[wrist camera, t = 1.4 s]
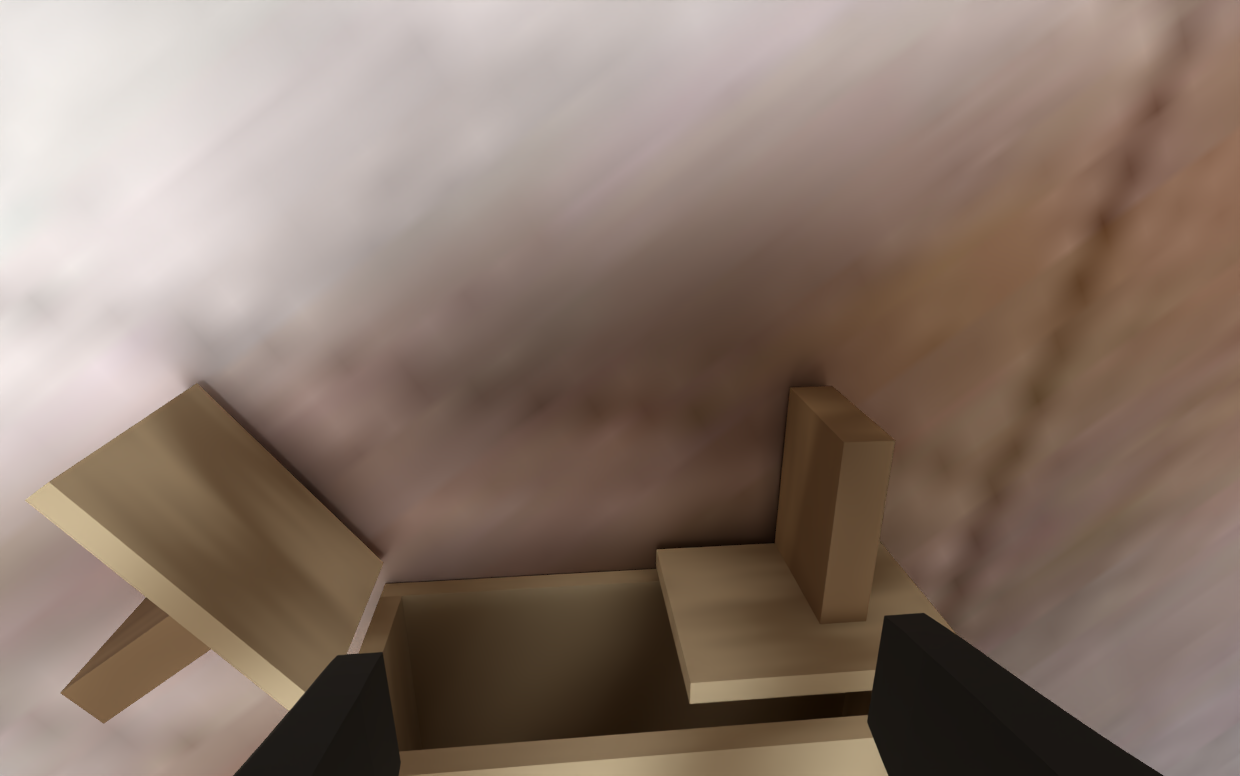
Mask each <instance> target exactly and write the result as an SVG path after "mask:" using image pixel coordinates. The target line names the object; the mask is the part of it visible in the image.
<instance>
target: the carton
mask: <svg viewBox="0 0 1240 776" xmlns="http://www.w3.org/2000/svg"><path fill="white" fill-rule="evenodd" d="M375 652H383V657H384V663H385V669H386V675H387V681H388V687H389V693H390V699H391V705H392V711H393V718H394V724H395V730H396V736H397V742H398V748H399V754H400V760H401V765H400V771H399V776H888V774H887V771H886V769H885V767H884V764H883V762H882V759H881V757H880V754H879V752H878V749H877V746H876V744H875V741H874V739H873V736H872V734H871V731H870V728H869V726H868V723H867V719H868V713H869V707H870V700H871V694H872V690H870V691H857V692H844V693H830V694H817V695H803V696H790V697H777V698H763V699H750V700H736V701H723V702H709V703H696V704H690V703H689V699H688V695H687V691H686V687H685V683H684V678H683V674H682V670H681V666H680V662H679V658H678V654H677V650H676V646H675V642H674V638H673V634H672V630H671V625H670V621H669V617H668V613H667V609H666V605H665V601H664V597H663V593H662V589H661V585H660V581H659V577H658V572H657V569H645V570H627V571H609V572H591V573H573V574H555V575H537V576H519V577H501V578H483V579H465V580H447V581H429V582H411V583H393V584H385V586H384V589H383V591H382V594H381V596H380V599H379V602H378V604H377V607H376V609H375V612H374V615H373V617H372V620H371V623H370V625H369V628H368V630H367V633H366V636H365V638H364V641H363V643H362V646H361V649H360V651H359V654H361V653H375Z"/></svg>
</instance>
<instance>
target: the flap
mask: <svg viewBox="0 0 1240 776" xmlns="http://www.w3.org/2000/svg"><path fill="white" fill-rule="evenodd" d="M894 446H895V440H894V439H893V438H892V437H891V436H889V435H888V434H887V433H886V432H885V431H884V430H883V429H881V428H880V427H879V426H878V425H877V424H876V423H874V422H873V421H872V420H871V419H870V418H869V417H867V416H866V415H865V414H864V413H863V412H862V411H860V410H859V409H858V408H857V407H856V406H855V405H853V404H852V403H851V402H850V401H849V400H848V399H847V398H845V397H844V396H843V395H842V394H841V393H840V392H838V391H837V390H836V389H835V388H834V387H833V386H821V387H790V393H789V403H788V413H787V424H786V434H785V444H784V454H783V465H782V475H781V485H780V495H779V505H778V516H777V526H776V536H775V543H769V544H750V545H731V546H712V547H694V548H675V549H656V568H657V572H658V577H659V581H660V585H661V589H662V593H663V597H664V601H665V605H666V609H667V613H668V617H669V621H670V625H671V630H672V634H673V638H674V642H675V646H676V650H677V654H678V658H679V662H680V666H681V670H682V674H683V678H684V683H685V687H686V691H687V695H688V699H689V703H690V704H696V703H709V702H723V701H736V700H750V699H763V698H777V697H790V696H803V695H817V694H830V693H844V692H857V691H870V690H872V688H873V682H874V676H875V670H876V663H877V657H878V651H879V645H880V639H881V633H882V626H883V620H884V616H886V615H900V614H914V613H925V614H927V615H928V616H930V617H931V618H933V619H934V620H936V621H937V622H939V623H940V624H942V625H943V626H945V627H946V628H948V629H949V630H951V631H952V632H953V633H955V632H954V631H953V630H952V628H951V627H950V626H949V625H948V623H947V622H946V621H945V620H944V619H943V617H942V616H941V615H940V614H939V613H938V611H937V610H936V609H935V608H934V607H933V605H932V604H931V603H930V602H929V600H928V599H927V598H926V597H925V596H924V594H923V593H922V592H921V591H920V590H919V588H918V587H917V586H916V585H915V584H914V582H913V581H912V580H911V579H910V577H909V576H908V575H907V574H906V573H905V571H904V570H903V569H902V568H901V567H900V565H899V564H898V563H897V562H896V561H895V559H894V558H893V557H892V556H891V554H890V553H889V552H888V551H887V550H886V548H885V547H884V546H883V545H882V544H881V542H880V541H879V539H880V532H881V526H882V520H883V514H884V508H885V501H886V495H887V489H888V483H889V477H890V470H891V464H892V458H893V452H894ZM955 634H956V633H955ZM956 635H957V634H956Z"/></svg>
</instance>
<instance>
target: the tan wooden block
mask: <svg viewBox="0 0 1240 776" xmlns="http://www.w3.org/2000/svg"><path fill="white" fill-rule="evenodd" d="M25 501H26V502H28V503H29V504H30V505H31V506H33V507H34V508H35V509H36V510H38V511H39V512H40V513H41V514H43V515H44V516H45V517H46V518H48V519H49V520H50V521H51V522H53V523H54V524H55V525H56V526H58V527H59V528H60V529H61V530H63V531H64V532H65V533H66V534H68V535H69V536H70V537H71V538H73V539H74V540H75V541H76V542H78V543H79V544H80V545H82V546H83V547H84V548H85V549H87V550H88V551H89V552H90V553H92V554H93V555H94V556H95V557H97V558H98V559H99V560H100V561H102V562H103V563H104V564H105V565H107V566H108V567H109V568H110V569H112V570H113V571H114V572H115V573H117V574H118V575H119V576H120V577H122V578H123V579H124V580H125V581H127V582H128V583H129V584H130V585H132V586H133V587H134V588H135V589H137V590H138V591H139V592H140V593H142V594H143V595H144V596H145V597H146V598H145V599H144V600H143V602H142V603H141V604H140V605H139V606H138V607H137V608H136V609H135V610H134V612H133V613H132V614H131V615H130V616H129V617H128V618H127V619H126V620H125V622H124V623H123V624H122V625H121V626H120V627H119V628H118V629H117V630H116V632H115V633H114V634H113V635H112V636H111V637H110V638H109V639H108V640H107V642H106V643H105V644H104V645H103V646H102V647H101V648H100V649H99V650H98V652H97V653H96V654H95V655H94V656H93V657H92V658H91V659H90V660H89V662H88V663H87V664H86V665H85V666H84V667H83V668H82V669H81V670H80V672H79V673H78V674H77V675H76V676H75V677H74V678H73V679H72V680H71V682H70V683H69V684H68V685H67V686H66V687H65V688H64V689H63V690H62V692H61V694H62V695H64V696H65V697H67V698H68V699H69V700H71V701H72V702H74V703H75V704H77V705H78V706H79V707H81V708H82V709H84V710H85V711H87V712H88V713H90V714H91V715H92V716H94V717H95V718H97V719H98V720H100V721H101V722H102V723H105V722H107V721H108V720H110V719H111V718H112V717H114V716H115V715H117V714H118V713H120V712H121V711H123V710H124V709H125V708H127V707H128V706H130V705H131V704H133V703H134V702H135V701H137V700H138V699H140V698H141V697H143V696H144V695H146V694H147V693H148V692H150V691H151V690H153V689H154V688H156V687H157V686H159V685H160V684H161V683H163V682H164V681H166V680H167V679H169V678H170V677H171V676H173V675H174V674H176V673H177V672H179V671H180V670H182V669H183V668H184V667H186V666H187V665H189V664H190V663H192V662H193V661H195V660H196V659H197V658H199V657H200V656H202V655H203V654H205V653H206V652H207V651H209V650H210V649H212V650H213V651H214V652H216V653H217V654H218V655H219V656H221V657H222V658H223V659H224V660H226V661H227V662H228V663H229V664H231V665H232V666H233V667H234V668H236V669H237V670H238V671H239V672H241V673H242V674H243V675H244V676H246V677H247V678H248V679H250V680H251V681H252V682H253V683H255V684H256V685H257V686H258V687H260V688H261V689H262V690H263V691H265V692H266V693H267V694H268V695H270V696H271V697H272V698H273V699H275V700H276V701H277V702H278V703H280V704H281V705H282V706H283V707H285V708H286V709H287V710H288V711H290V710H291V708H292V707H293V706H294V705H295V704H296V702H297V701H298V700H299V699H300V698H301V696H302V695H303V694H304V693H305V692H306V691H307V689H308V688H309V687H310V686H311V685H312V683H313V682H314V681H315V680H316V679H317V677H318V676H319V675H320V674H321V673H322V671H323V670H324V669H325V668H326V667H327V666H328V664H329V663H330V662H331V661H332V660H333V659H334V658H335V657H336V656H337V655H346V654H347V652H348V649H349V647H350V644H351V642H352V639H353V637H354V634H355V632H356V629H357V627H358V624H359V622H360V620H361V617H362V615H363V612H364V610H365V607H366V605H367V602H368V600H369V597H370V595H371V592H372V590H373V588H374V585H375V583H376V580H377V578H378V575H379V573H380V570H381V568H382V565H383V562H382V561H381V560H380V559H379V558H378V557H377V556H376V555H375V554H374V553H373V552H372V551H371V550H370V549H369V548H368V547H367V546H366V545H365V544H363V543H362V542H361V541H360V540H359V539H358V538H357V537H356V536H355V535H354V534H353V533H352V532H351V531H350V530H349V529H348V528H347V527H346V526H345V525H344V524H343V523H342V522H341V521H340V520H339V519H337V518H336V517H335V516H334V515H333V514H332V513H331V512H330V511H329V510H328V509H327V508H326V507H325V506H324V505H323V504H322V503H321V502H320V501H319V500H318V499H317V498H316V497H315V496H314V495H313V494H312V493H310V492H309V491H308V490H307V489H306V488H305V487H304V486H303V485H302V484H301V483H300V482H299V481H298V480H297V479H296V478H295V477H294V476H293V475H292V474H291V473H290V472H289V471H288V470H287V469H286V468H284V467H283V466H282V465H281V464H280V463H279V462H278V461H277V460H276V459H275V458H274V457H273V456H272V455H271V454H270V453H269V452H268V451H267V450H266V449H265V448H264V447H263V446H262V445H261V444H260V443H259V442H257V441H256V440H255V439H254V438H253V437H252V436H251V435H250V434H249V433H248V432H247V431H246V430H245V429H244V428H243V427H242V426H241V425H240V424H239V423H238V422H237V421H236V420H235V419H234V418H233V417H232V416H230V415H229V414H228V413H227V412H226V411H225V410H224V409H223V408H222V407H221V406H220V405H219V404H218V403H217V402H216V401H215V400H214V399H213V398H212V397H211V396H210V395H209V394H208V393H207V392H206V391H204V390H203V389H202V388H201V387H200V386H199V385H198V384H195V385H194V386H192V387H191V388H189V389H188V390H186V391H185V392H183V393H182V394H180V395H179V396H177V397H176V398H174V399H173V400H171V401H170V402H168V403H167V404H165V405H164V406H162V407H161V408H159V409H158V410H156V411H155V412H153V413H152V414H150V415H149V416H147V417H146V418H144V419H143V420H141V421H140V422H138V423H137V424H135V425H134V426H132V427H131V428H129V429H128V430H126V431H125V432H123V433H122V434H120V435H119V436H117V437H116V438H114V439H113V440H111V441H110V442H108V443H107V444H105V445H104V446H102V447H101V448H99V449H98V450H96V451H95V452H93V453H92V454H90V455H89V456H87V457H86V458H84V459H83V460H81V461H80V462H78V463H77V464H75V465H74V466H72V467H71V468H69V469H68V470H66V471H65V472H63V473H62V474H60V475H59V476H57V477H56V478H54V479H53V480H51V481H50V482H48V483H47V484H46V485H44V486H43V487H42V488H40V489H39V490H38V491H37V492H35V493H34V494H33V495H31V496H30V497H29V498H27V499H26V500H25Z"/></svg>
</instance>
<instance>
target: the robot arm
mask: <svg viewBox="0 0 1240 776" xmlns="http://www.w3.org/2000/svg"><path fill="white" fill-rule="evenodd" d="M867 723H868V726H869V728H870V731H871V734H872V736H873V739H874V741H875V744H876V746H877V749H878V752H879V754H880V757H881V759H882V762H883V764H884V767H885V769H886V771H887V774H888V776H1163V775H1162V774H1160V773H1159V772H1157V771H1155V770H1154V769H1152V768H1151V767H1149V766H1148V765H1146V764H1144V763H1143V762H1141V761H1140V760H1138V759H1136V758H1135V757H1133V756H1132V755H1130V754H1129V753H1127V752H1125V751H1124V750H1122V749H1121V748H1119V747H1118V746H1116V745H1115V744H1113V743H1112V742H1110V741H1109V740H1107V739H1106V738H1104V737H1103V736H1101V735H1100V734H1098V733H1097V732H1095V731H1094V730H1092V729H1091V728H1089V727H1088V726H1086V725H1085V724H1083V723H1082V722H1080V721H1079V720H1077V719H1076V718H1074V717H1073V716H1072V715H1070V714H1069V713H1067V712H1066V711H1064V710H1063V709H1061V708H1060V707H1058V706H1057V705H1056V704H1054V703H1053V702H1051V701H1050V700H1048V699H1047V698H1045V697H1044V696H1043V695H1041V694H1040V693H1038V692H1037V691H1035V690H1034V689H1033V688H1031V687H1030V686H1028V685H1027V684H1025V683H1024V682H1023V681H1021V680H1020V679H1018V678H1017V677H1016V676H1014V675H1013V674H1011V673H1010V672H1009V671H1007V670H1006V669H1004V668H1003V667H1002V666H1000V665H999V664H997V663H996V662H994V661H993V660H992V659H990V658H989V657H987V656H986V655H985V654H983V653H982V652H980V651H979V650H978V649H976V648H975V647H973V646H972V645H971V644H969V643H968V642H966V641H965V640H963V639H962V638H961V637H959V636H958V635H956V634H955V633H953V632H952V631H951V630H949V629H948V628H946V627H945V626H943V625H942V624H940V623H939V622H937V621H936V620H934V619H933V618H931V617H930V616H928V615H927V614H925V613H914V614H900V615H886V616H884V620H883V626H882V633H881V639H880V645H879V651H878V657H877V663H876V670H875V676H874V682H873V688H872V694H871V700H870V707H869V713H868V719H867ZM400 765H401V760H400V754H399V748H398V742H397V736H396V730H395V724H394V718H393V711H392V705H391V699H390V693H389V687H388V681H387V675H386V669H385V663H384V657H383V652H375V653H361V654H347V655H337V656H336V657H335V658H334V659H333V660H332V661H331V662H330V663H329V664H328V666H327V667H326V668H325V669H324V670H323V671H322V673H321V674H320V675H319V676H318V677H317V679H316V680H315V681H314V682H313V683H312V685H311V686H310V687H309V688H308V689H307V691H306V692H305V693H304V694H303V695H302V696H301V698H300V699H299V700H298V701H297V702H296V704H295V705H294V706H293V707H292V708H291V710H290V711H289V712H288V713H287V714H286V716H285V717H284V718H283V719H282V720H281V721H280V723H279V724H278V725H277V726H276V727H275V729H274V730H273V731H272V732H271V733H270V734H269V736H268V737H267V738H266V739H265V740H264V741H263V743H262V744H261V745H260V746H259V747H258V748H257V749H256V751H255V752H254V753H253V754H252V755H251V756H250V757H249V759H248V760H247V761H246V762H245V763H244V764H243V765H242V766H241V768H240V769H239V770H238V771H237V772H236V773H235V774H234V775H233V776H399V771H400Z"/></svg>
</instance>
